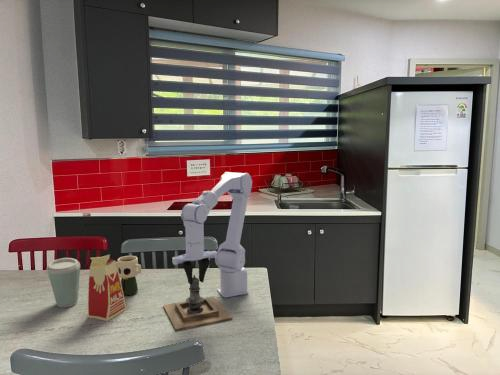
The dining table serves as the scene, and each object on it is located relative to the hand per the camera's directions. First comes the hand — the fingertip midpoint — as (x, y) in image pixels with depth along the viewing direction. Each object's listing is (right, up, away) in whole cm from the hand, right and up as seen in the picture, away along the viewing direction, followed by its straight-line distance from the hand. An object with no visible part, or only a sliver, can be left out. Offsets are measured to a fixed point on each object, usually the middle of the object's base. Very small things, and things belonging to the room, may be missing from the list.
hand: (195, 282), depth 129 cm
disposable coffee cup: (-46, -10, +9) cm, 48 cm away
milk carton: (-30, -11, +2) cm, 31 cm away
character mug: (-27, -8, +18) cm, 33 cm away
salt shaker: (-1, -10, +2) cm, 10 cm away
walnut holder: (0, -10, +1) cm, 10 cm away
